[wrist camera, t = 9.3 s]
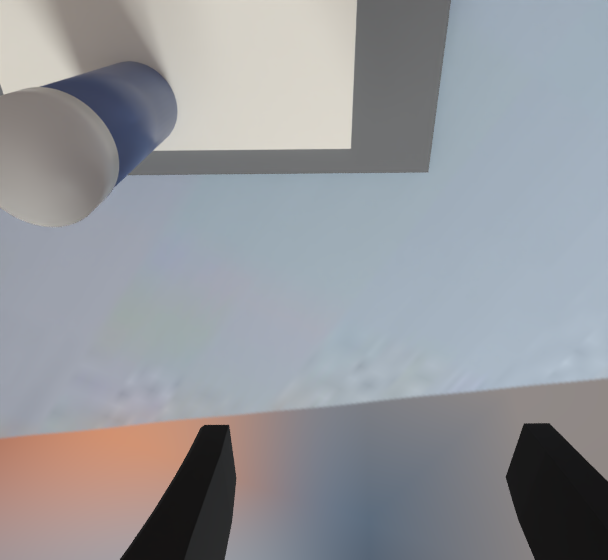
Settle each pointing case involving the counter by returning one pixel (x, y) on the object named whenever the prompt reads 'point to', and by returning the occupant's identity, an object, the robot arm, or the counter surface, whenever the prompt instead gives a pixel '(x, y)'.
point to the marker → (79, 140)
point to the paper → (203, 62)
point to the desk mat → (357, 103)
